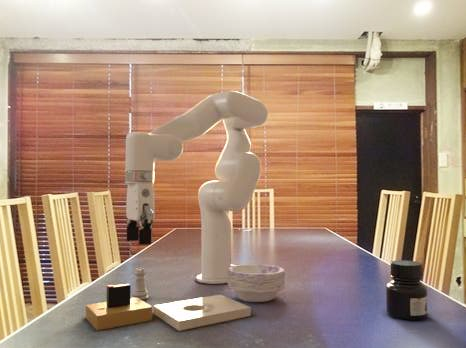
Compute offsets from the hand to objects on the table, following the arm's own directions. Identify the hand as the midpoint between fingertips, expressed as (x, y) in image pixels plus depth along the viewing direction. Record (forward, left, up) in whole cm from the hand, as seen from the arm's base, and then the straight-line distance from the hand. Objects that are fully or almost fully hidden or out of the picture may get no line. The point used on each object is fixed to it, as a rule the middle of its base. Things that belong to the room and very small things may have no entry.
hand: (138, 242), depth 114 cm
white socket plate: (-7, +22, -15) cm, 28 cm away
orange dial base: (+10, +14, -15) cm, 23 cm away
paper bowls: (-26, +17, -15) cm, 35 cm away
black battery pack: (+10, +14, -12) cm, 21 cm away
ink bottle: (-46, +49, -15) cm, 69 cm away
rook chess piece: (0, 0, -15) cm, 15 cm away
